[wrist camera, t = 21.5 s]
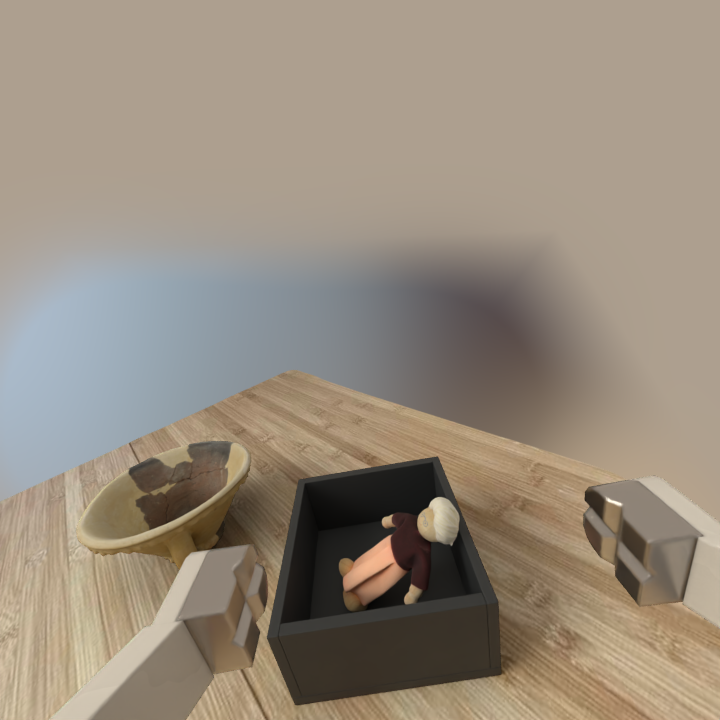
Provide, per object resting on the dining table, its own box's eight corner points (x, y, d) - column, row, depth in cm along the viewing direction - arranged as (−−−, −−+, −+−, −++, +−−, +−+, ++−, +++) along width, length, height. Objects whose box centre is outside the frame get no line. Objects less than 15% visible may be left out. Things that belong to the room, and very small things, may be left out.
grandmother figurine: (326, 548, 32) (418, 464, 28) (354, 550, 34) (443, 473, 31) (350, 647, 26) (470, 557, 22) (382, 641, 28) (495, 559, 25)
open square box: (444, 511, 39) (437, 456, 36) (501, 675, 25) (498, 602, 22) (314, 533, 40) (298, 479, 37) (294, 706, 25) (266, 638, 22)
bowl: (282, 554, 38) (259, 487, 34) (96, 650, 31) (46, 579, 28) (257, 471, 53) (239, 419, 50) (129, 524, 46) (99, 468, 43)
